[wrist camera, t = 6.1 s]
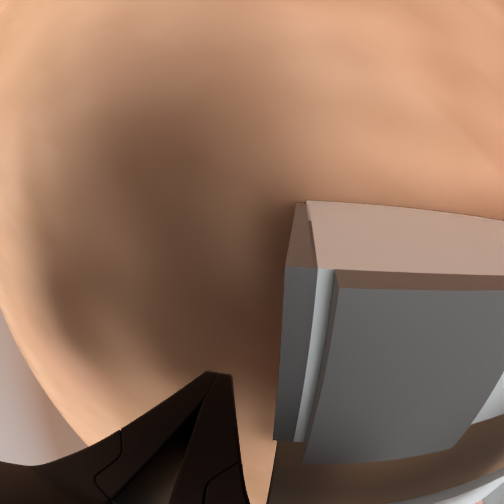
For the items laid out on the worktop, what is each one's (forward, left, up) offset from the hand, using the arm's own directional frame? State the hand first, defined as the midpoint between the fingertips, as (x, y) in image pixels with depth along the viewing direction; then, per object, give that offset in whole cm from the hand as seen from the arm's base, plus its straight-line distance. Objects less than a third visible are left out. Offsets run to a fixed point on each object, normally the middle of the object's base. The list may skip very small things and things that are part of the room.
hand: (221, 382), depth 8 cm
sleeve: (0, -9, -2) cm, 9 cm away
